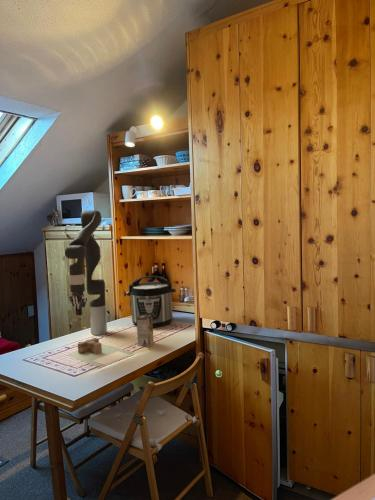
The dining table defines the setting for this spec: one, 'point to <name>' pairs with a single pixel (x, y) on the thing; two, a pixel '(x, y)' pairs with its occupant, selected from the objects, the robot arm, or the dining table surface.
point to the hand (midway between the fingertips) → (79, 315)
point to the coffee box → (145, 330)
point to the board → (102, 355)
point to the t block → (90, 346)
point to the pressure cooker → (151, 300)
